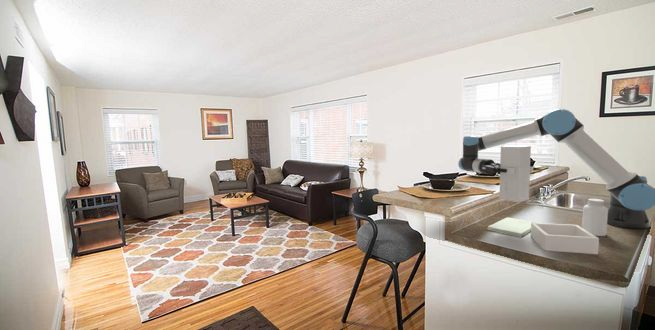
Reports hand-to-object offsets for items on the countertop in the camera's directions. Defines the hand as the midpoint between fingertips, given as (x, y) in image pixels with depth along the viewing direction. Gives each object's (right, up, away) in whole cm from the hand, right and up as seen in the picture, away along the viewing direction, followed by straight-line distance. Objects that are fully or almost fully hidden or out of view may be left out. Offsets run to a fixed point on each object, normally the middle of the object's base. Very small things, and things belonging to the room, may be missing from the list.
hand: (523, 170), depth 133 cm
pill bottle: (+28, -28, -4) cm, 39 cm away
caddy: (+5, -29, -15) cm, 33 cm away
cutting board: (0, -27, +7) cm, 28 cm away
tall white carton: (-1, -14, +6) cm, 15 cm away
